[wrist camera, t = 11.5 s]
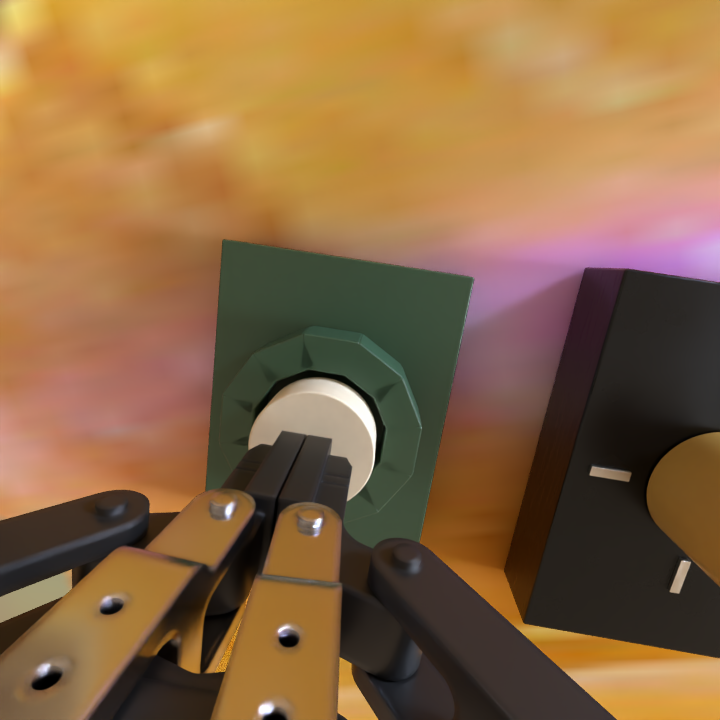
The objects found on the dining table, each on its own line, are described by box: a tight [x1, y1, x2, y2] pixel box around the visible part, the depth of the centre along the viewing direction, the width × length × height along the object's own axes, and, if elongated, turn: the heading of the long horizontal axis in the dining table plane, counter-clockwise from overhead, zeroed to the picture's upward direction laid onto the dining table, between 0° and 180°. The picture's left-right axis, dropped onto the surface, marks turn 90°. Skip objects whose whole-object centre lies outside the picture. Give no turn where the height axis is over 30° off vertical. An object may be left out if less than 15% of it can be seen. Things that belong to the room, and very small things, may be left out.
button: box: [248, 377, 376, 501], centre depth 14 cm, size 4×4×2 cm
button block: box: [205, 239, 474, 548], centre depth 16 cm, size 12×9×4 cm
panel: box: [504, 267, 720, 658], centre depth 16 cm, size 14×10×3 cm
